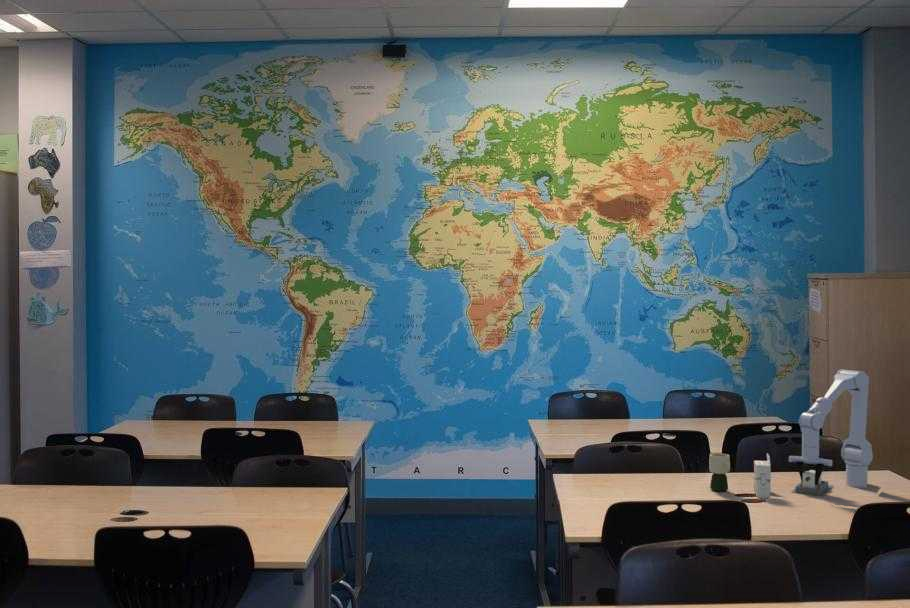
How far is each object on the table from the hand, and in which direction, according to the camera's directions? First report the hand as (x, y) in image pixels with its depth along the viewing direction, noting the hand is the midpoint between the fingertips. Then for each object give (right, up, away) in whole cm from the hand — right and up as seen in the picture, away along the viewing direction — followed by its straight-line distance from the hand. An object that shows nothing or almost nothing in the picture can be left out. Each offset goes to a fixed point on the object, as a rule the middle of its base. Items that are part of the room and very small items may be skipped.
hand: (809, 483), depth 325 cm
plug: (-1, -2, -1) cm, 2 cm away
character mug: (-31, -4, +6) cm, 32 cm away
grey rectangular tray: (+3, -4, +4) cm, 6 cm away
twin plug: (+5, -3, +7) cm, 9 cm away
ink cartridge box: (-18, -4, -1) cm, 18 cm away
